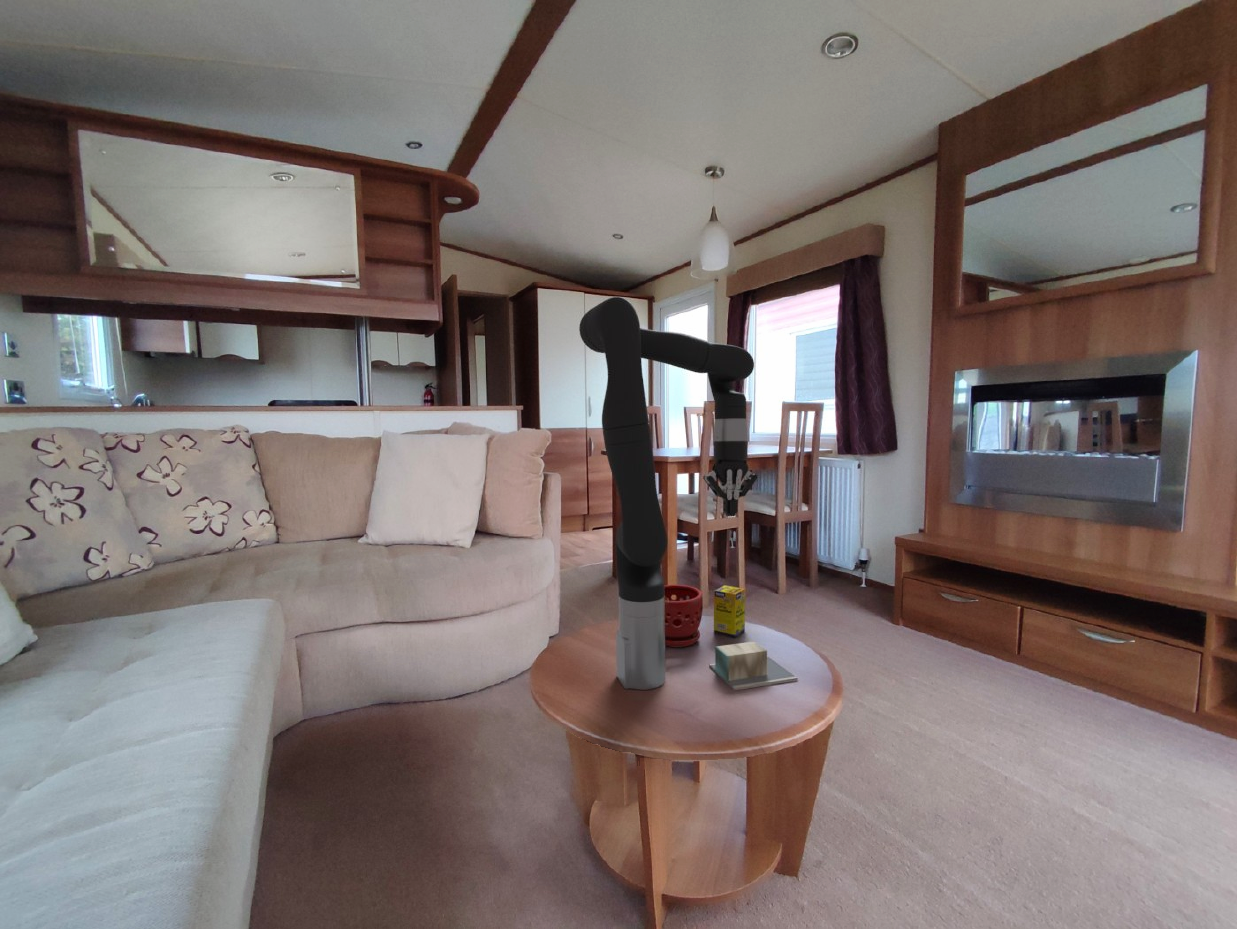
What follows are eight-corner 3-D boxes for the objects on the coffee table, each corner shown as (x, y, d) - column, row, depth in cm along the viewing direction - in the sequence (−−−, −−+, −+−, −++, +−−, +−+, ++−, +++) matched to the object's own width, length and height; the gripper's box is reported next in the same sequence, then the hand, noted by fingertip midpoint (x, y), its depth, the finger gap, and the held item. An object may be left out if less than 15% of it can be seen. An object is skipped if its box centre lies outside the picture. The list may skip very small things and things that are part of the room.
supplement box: (735, 638, 125) (735, 594, 124) (713, 633, 128) (713, 590, 128) (745, 631, 130) (745, 588, 129) (723, 626, 133) (723, 584, 133)
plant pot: (646, 631, 131) (646, 584, 130) (698, 630, 130) (698, 583, 130) (649, 652, 117) (649, 600, 117) (707, 651, 117) (706, 599, 117)
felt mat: (734, 690, 99) (734, 687, 99) (709, 666, 109) (709, 664, 109) (797, 680, 103) (797, 677, 103) (767, 658, 113) (767, 655, 113)
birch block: (767, 675, 104) (726, 681, 102) (753, 664, 109) (715, 670, 106) (767, 650, 104) (726, 656, 101) (753, 641, 109) (715, 646, 106)
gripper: (710, 439, 110) (711, 519, 111) (765, 439, 114) (765, 516, 115) (696, 439, 118) (696, 515, 118) (748, 439, 121) (748, 512, 122)
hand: (730, 515), depth 117 cm, fingers closed
